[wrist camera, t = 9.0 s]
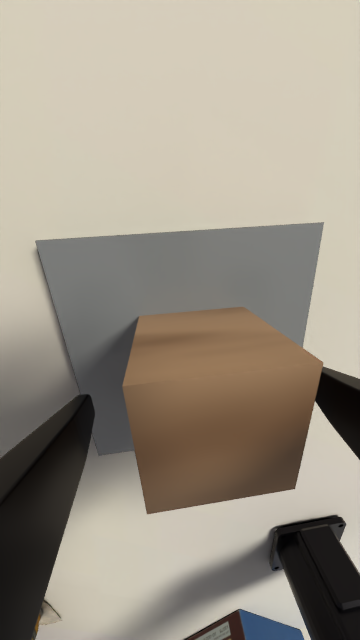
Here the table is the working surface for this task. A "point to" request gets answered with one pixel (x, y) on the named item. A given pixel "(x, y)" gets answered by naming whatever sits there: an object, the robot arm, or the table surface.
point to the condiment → (45, 617)
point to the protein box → (248, 629)
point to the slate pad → (168, 296)
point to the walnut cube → (216, 407)
